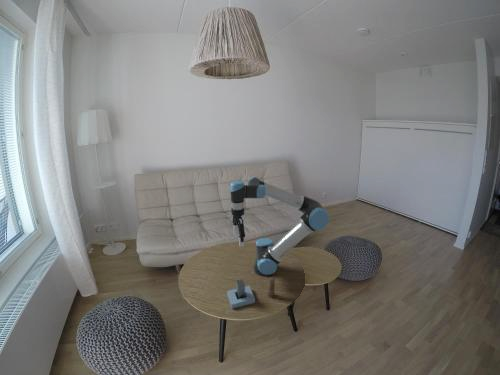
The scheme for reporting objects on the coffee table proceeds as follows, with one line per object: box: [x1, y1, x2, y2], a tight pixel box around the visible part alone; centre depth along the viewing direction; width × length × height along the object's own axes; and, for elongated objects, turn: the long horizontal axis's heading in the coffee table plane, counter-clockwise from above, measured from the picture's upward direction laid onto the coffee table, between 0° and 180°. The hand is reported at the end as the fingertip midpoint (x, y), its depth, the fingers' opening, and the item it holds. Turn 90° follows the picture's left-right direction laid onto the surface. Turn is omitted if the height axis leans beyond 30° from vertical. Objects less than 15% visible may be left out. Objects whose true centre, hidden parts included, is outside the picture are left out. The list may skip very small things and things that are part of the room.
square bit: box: [235, 278, 246, 300], centre depth 139 cm, size 4×4×12 cm
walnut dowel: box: [267, 276, 276, 299], centre depth 141 cm, size 4×4×12 cm
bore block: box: [226, 285, 256, 310], centre depth 141 cm, size 14×11×3 cm
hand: (238, 240), depth 144 cm, fingers open, 13 cm apart
